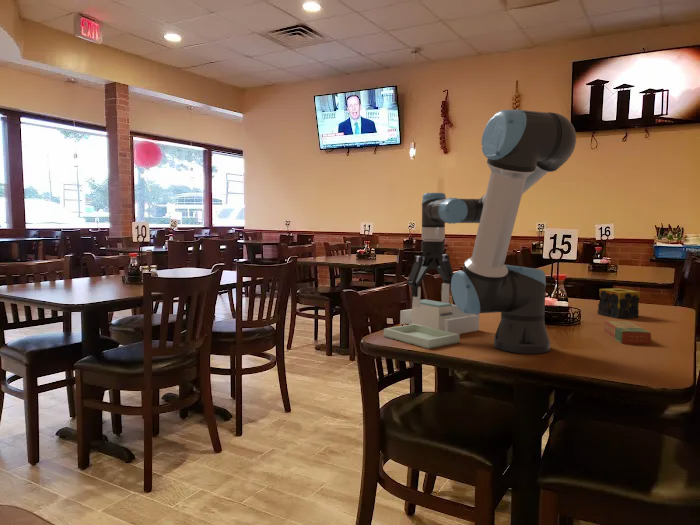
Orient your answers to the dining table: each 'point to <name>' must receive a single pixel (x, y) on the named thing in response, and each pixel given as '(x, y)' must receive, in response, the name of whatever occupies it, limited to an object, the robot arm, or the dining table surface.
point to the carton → (627, 332)
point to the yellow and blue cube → (619, 303)
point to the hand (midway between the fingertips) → (431, 304)
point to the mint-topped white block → (431, 314)
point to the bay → (450, 320)
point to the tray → (422, 336)
